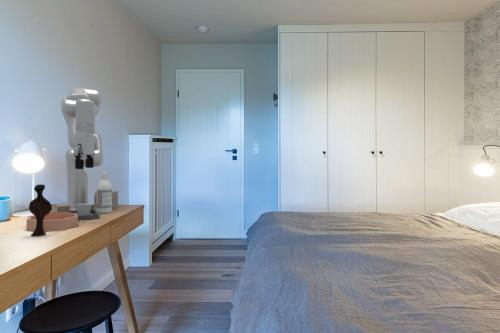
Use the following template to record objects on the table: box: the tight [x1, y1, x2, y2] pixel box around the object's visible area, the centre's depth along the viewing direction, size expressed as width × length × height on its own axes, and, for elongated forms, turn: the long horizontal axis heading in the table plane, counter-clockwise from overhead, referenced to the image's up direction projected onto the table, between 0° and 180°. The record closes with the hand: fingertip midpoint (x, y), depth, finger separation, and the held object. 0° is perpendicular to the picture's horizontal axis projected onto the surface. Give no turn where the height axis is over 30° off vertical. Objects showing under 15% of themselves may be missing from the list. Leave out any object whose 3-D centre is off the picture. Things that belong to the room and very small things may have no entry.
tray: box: [50, 208, 100, 221], centre depth 146 cm, size 15×20×2 cm
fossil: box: [93, 190, 119, 211], centre depth 169 cm, size 12×4×10 cm, turn 147°
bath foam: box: [96, 171, 113, 214], centre depth 161 cm, size 7×7×20 cm
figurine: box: [28, 183, 53, 237], centre depth 115 cm, size 7×5×18 cm
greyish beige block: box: [56, 203, 70, 213], centre depth 144 cm, size 4×5×6 cm
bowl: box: [26, 212, 79, 233], centre depth 129 cm, size 17×17×4 cm
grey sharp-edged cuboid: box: [77, 202, 91, 215], centre depth 148 cm, size 4×5×6 cm
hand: (84, 168), depth 140 cm, fingers open, 9 cm apart
